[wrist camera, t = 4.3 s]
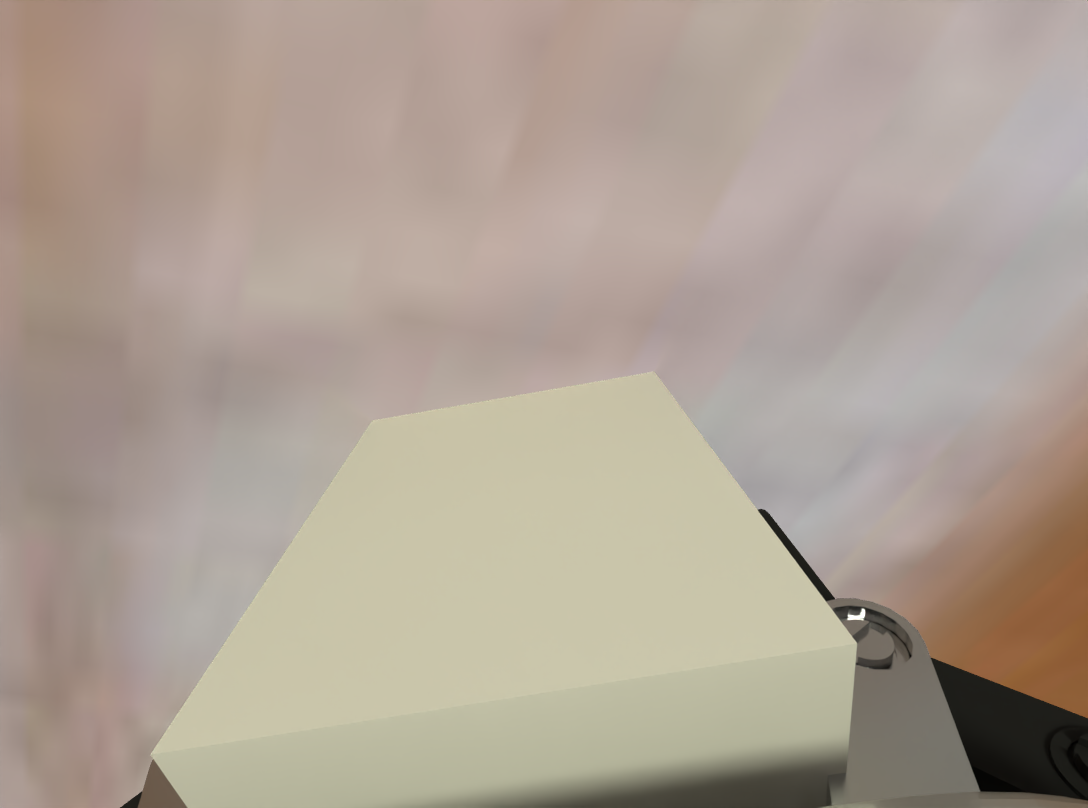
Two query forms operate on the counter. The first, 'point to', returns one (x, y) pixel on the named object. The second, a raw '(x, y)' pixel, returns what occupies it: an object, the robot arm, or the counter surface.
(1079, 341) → the counter surface
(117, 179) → the counter surface
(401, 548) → the cream block
